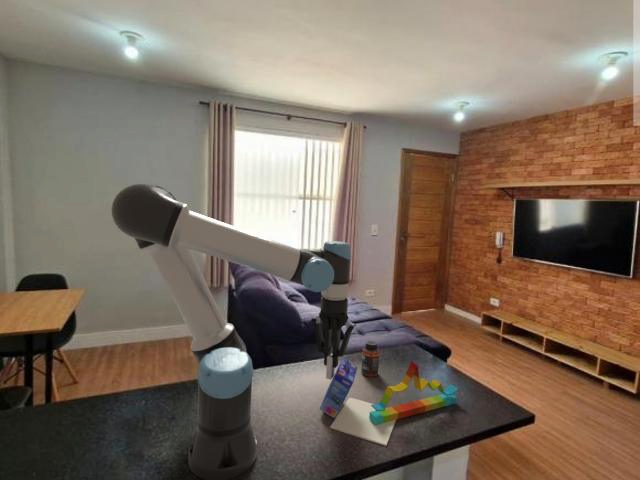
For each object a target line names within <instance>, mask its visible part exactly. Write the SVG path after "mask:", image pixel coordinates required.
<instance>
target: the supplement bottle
mask: <svg viewBox="0 0 640 480" xmlns="http://www.w3.org/2000/svg"><path fill="white" fill-rule="evenodd" d="M379 363H380V349H379V348H378V342H377V341H375V340H366V341H365V346H364V347H363V348H362V357H361V372H360V373H361V374H363V376H366V377H376V376H377V375H379V367H380V366H379V365H380V364H379Z"/></svg>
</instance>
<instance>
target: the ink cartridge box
mask: <svg viewBox="0 0 640 480" xmlns="http://www.w3.org/2000/svg"><path fill="white" fill-rule="evenodd" d="M357 371H358V366H357V365H355V364H353V363H351V362H349V358H346V359H344V358H343V359H341V361H340V363H339V364H338V366H337V369H336V371H335V372H334V376H333V378H332V379H331V380H330V383H329V385H328V387H327V389H326V391H325V394H324V397H323V399H322V401H321V403H320V406H319V410H320V411H322V412H323V413H325V414H327V415H328V416H330V417H331V418H334V419H336V417H337V416H338V414H339V413H340V411H341V410H342V408H343V406H344V402H345V401H346V399H347V397H348V395H349V393H350V391H351V388H352V387H353V384H354V383H355V379H356V374H357Z"/></svg>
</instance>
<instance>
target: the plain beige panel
mask: <svg viewBox="0 0 640 480" xmlns="http://www.w3.org/2000/svg"><path fill="white" fill-rule="evenodd" d="M372 404H373V403H371V402H367V401H364V400H361V399H358V398H354V397H353V398H352V397H349V398H348V399H347V401H346V403H345V404H343V406H342V407H341V409H340V411H339V413H338V415H337V417H336V418H334V420H333V422H332V424H330V426H329V428H330V429H333V430H334V431H339V432H341V433H345V434H347V435H350V436H354V437H357V438H359V439H363V440H366V441H368V442H369V441H370V442H372V443H375V444H378V445H381V446H384V447H387V445H388V443H389V440H390V437H391V436H392V435H391V434H392V433H393V430H394V427H395V424H396V421H397V419H396V420H392V421H388V422H385V423H381V424H377V425H375V424H374V423H373V422H372V421H371V420H370V419H369V415H370V412H372V411H376V410H375V409H374V408H373V407H372V406H371V405H372Z"/></svg>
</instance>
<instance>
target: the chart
mask: <svg viewBox="0 0 640 480" xmlns="http://www.w3.org/2000/svg"><path fill="white" fill-rule="evenodd" d="M418 366H419V365H418V364H416V363H415V362H414V361H410V363H409V366H408V367H407V370H406V371H405V375H404V378H403V379H402V381H401V382H399V383H398V384H396V385H392V386H391V385H388V386H387V387H386V389H385V391H384V394H383V395H382V397H381V399H380V400H379V403H377V404H375V403H371V404H372V405H371V406H372V407H373V408H374V409H375V410H376V411H372V412H370V415H369V419H370V420H371V421H372V422H373V423H374V424H375V425H377V424H381V423H385V422H388V421H392V420H396V421H397V420H399V419H403V418H407V417H410V416H414V415H418V414H422V413H425V412H429V411H432V410H436V409H441V408H443V407H444V408H445V407H448V406H451V405H456V404H457V398H458V397H457V396H456V395H454V394H455V393H456V392H457V391H458V390H459V388H458V387H456V386H454V385H453V384H450V385H449V386H448V387H446V389H444V387H443V385H442V383H441V382H439V381H438V380H436V379H435V378H434V379H433V380H432V381H431V382H430V381H428V380H426V379H425V378H424V377H421V378H420V373H419V367H418ZM412 380H413V385H414V388H415V389H416V390H417V391H420V392H423V390H424V389H425V388H426V387H428V388H430V389H431V390H432V391H436V390H438V392H440V393H441V394H438V395H434V396H431V397H425V398H422V399H418V400H415V401H409V402H405V403H402V404H398V405H395V406H389V407H387V406H388V405H389V402H390V401H391V398H392V396H393V394H395V393H402V392H403V391H405V390H407V389H409V386H410V384H411V382H412Z"/></svg>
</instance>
